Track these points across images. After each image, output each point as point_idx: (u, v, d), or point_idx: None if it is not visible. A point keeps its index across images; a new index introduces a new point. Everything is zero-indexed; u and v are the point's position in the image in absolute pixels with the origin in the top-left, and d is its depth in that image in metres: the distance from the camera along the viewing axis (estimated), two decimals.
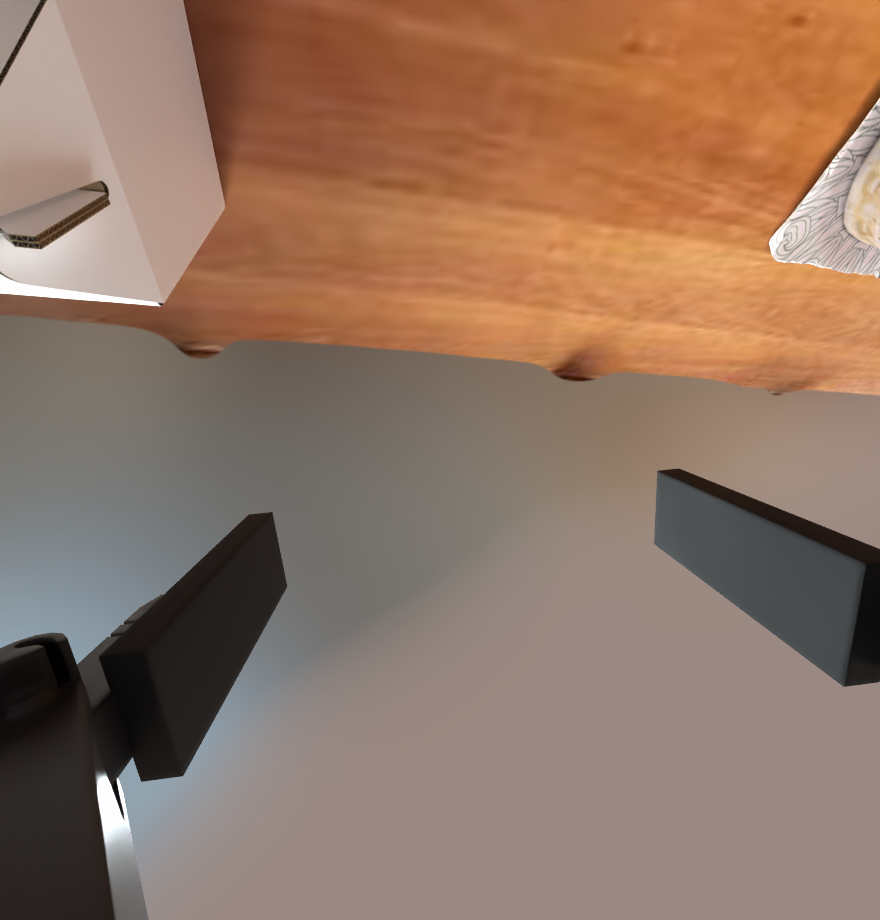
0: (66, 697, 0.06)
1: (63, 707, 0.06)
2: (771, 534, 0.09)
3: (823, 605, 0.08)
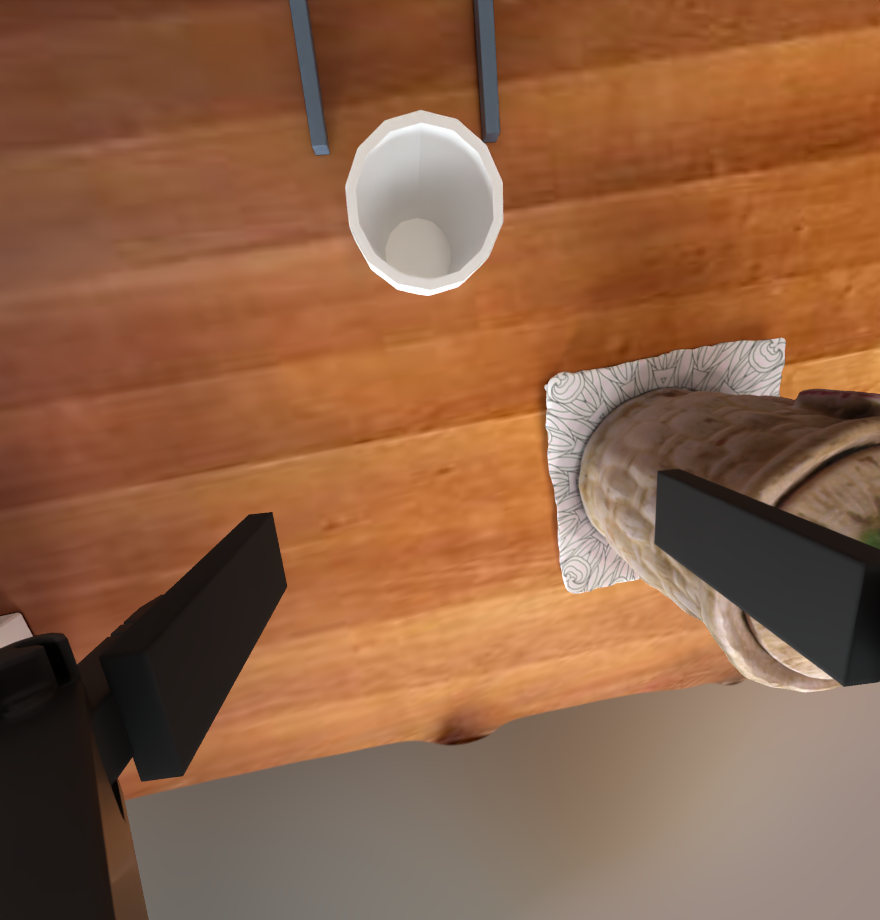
0: (66, 697, 0.06)
1: (63, 707, 0.06)
2: (771, 534, 0.09)
3: (823, 605, 0.08)
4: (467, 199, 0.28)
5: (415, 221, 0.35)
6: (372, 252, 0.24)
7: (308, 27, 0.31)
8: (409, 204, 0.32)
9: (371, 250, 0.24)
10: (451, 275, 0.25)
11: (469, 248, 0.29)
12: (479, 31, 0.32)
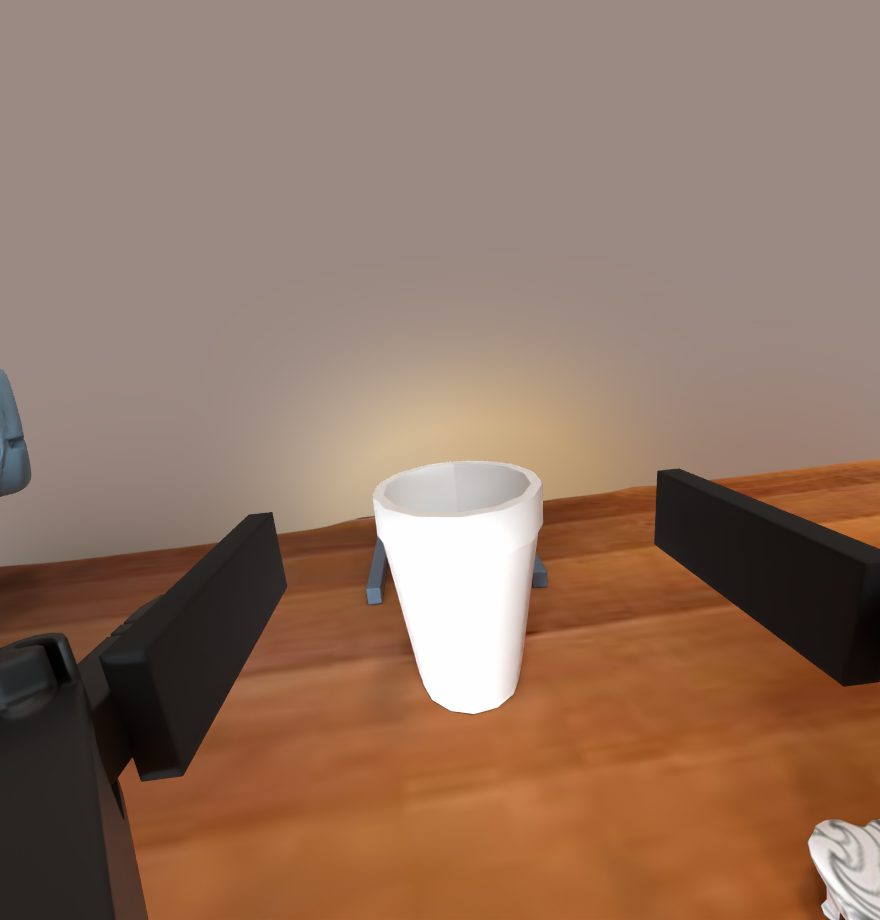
0: (66, 697, 0.06)
1: (63, 707, 0.06)
2: (771, 534, 0.09)
3: (823, 605, 0.08)
4: None
5: None
6: (392, 505, 0.21)
7: None
8: None
9: (391, 503, 0.21)
10: (487, 508, 0.19)
11: None
12: None
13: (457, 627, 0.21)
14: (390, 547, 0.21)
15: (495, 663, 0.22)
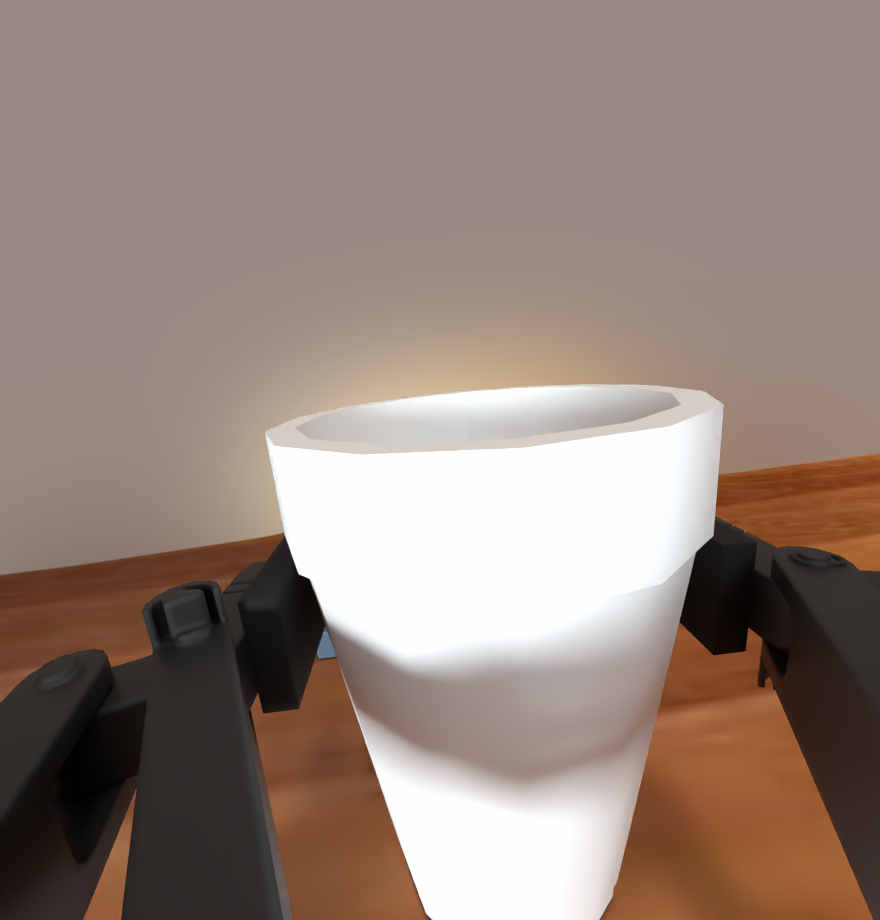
0: (218, 636, 0.07)
1: (216, 644, 0.07)
2: None
3: (699, 584, 0.09)
4: None
5: None
6: (302, 440, 0.07)
7: None
8: None
9: (301, 437, 0.07)
10: (603, 428, 0.06)
11: None
12: None
13: (495, 792, 0.07)
14: (298, 564, 0.07)
15: (589, 862, 0.09)
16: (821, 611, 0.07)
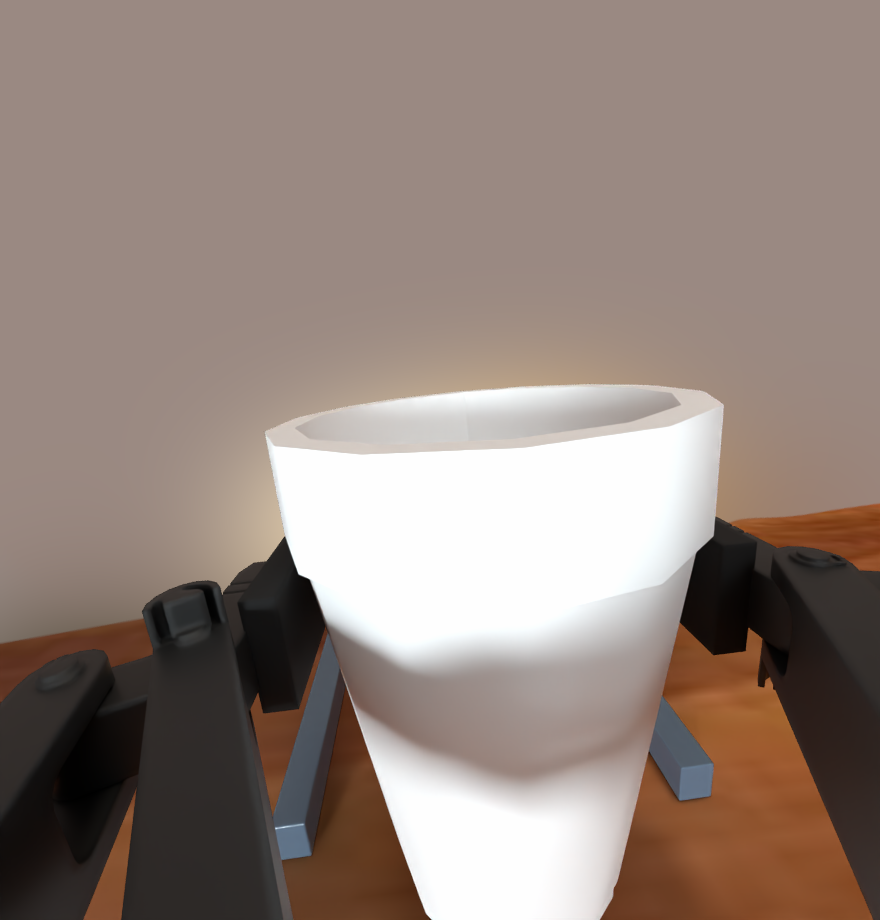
0: (218, 636, 0.07)
1: (216, 644, 0.07)
2: None
3: (698, 584, 0.09)
4: None
5: None
6: (302, 440, 0.07)
7: None
8: None
9: (301, 437, 0.07)
10: (604, 428, 0.06)
11: None
12: None
13: (495, 792, 0.07)
14: (298, 564, 0.07)
15: (589, 863, 0.09)
16: (821, 611, 0.07)
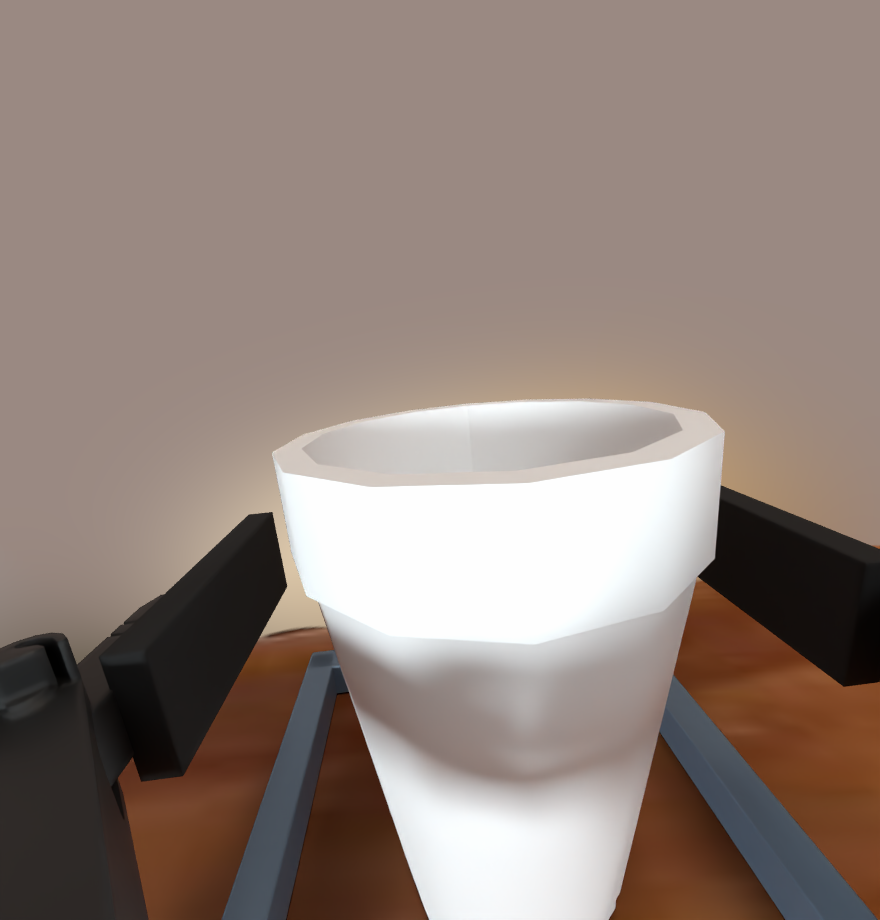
0: (66, 697, 0.06)
1: (63, 707, 0.06)
2: (771, 534, 0.09)
3: (823, 605, 0.08)
4: None
5: None
6: (310, 465, 0.07)
7: (291, 817, 0.12)
8: None
9: (308, 461, 0.07)
10: (607, 459, 0.06)
11: None
12: (722, 787, 0.12)
13: (500, 810, 0.07)
14: (306, 586, 0.07)
15: (592, 877, 0.09)
16: None
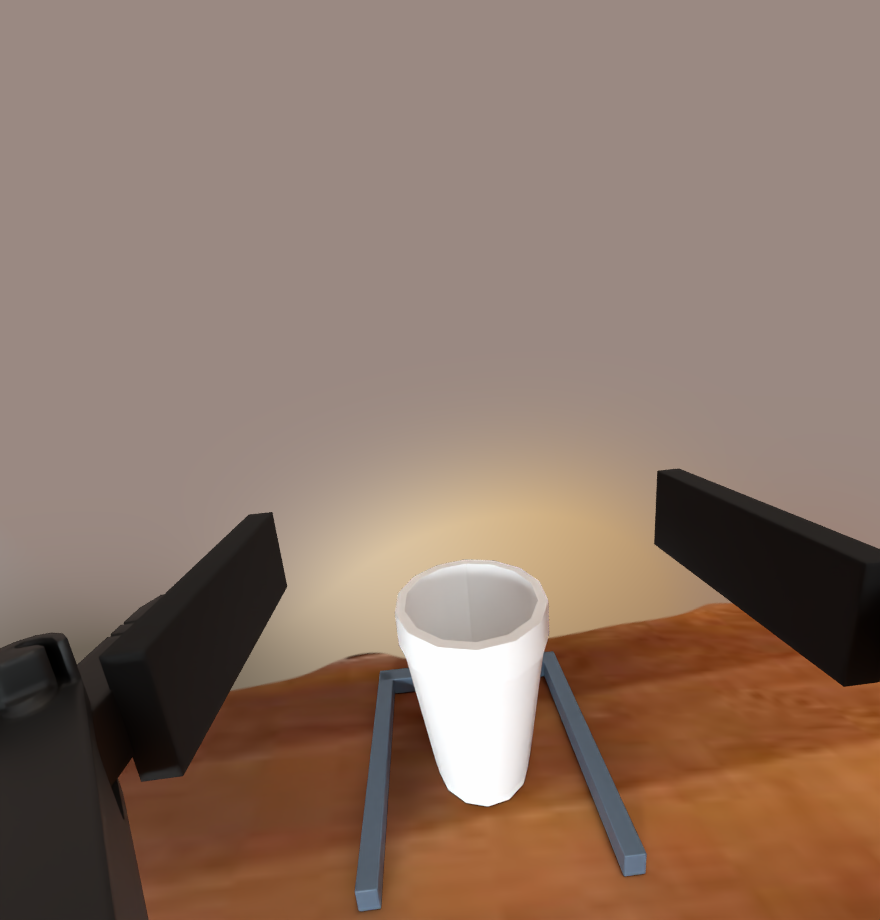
0: (66, 697, 0.06)
1: (63, 707, 0.06)
2: (771, 534, 0.09)
3: (823, 605, 0.08)
4: None
5: None
6: (413, 627, 0.23)
7: (386, 749, 0.28)
8: None
9: (413, 625, 0.23)
10: (500, 637, 0.22)
11: None
12: (575, 738, 0.28)
13: (473, 736, 0.23)
14: (412, 665, 0.23)
15: (507, 763, 0.25)
16: None
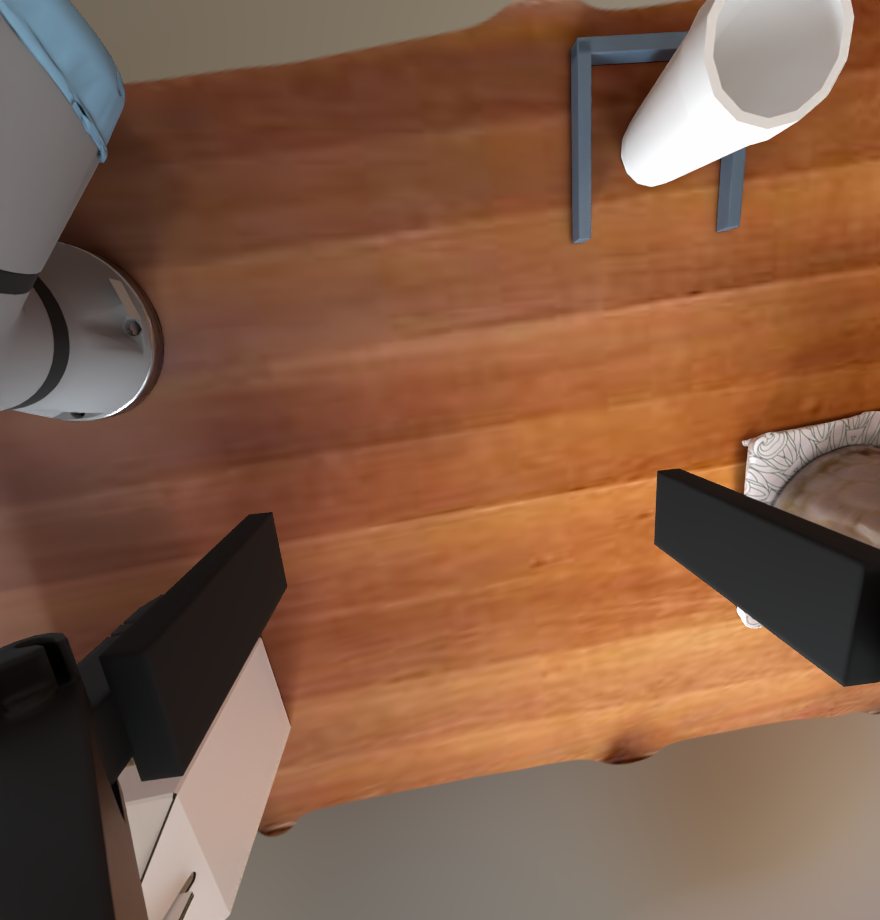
0: (66, 697, 0.06)
1: (63, 707, 0.06)
2: (771, 534, 0.09)
3: (823, 605, 0.08)
4: (769, 58, 0.29)
5: None
6: (719, 87, 0.25)
7: (590, 140, 0.35)
8: None
9: (719, 84, 0.25)
10: (788, 114, 0.26)
11: (759, 112, 0.30)
12: None
13: (691, 162, 0.32)
14: (691, 117, 0.27)
15: (690, 171, 0.35)
16: None
